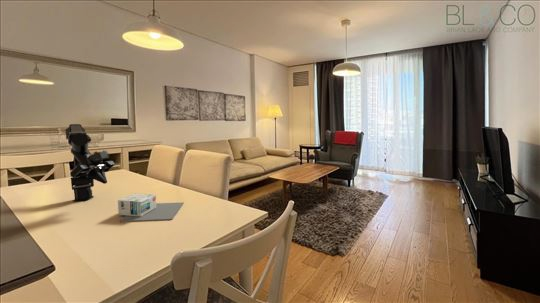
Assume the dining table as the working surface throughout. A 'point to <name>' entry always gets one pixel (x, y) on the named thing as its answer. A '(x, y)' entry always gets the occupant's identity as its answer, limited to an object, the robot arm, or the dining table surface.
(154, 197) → the light bulb box
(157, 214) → the charcoal mat
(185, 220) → the dining table surface
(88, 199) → the robot arm
